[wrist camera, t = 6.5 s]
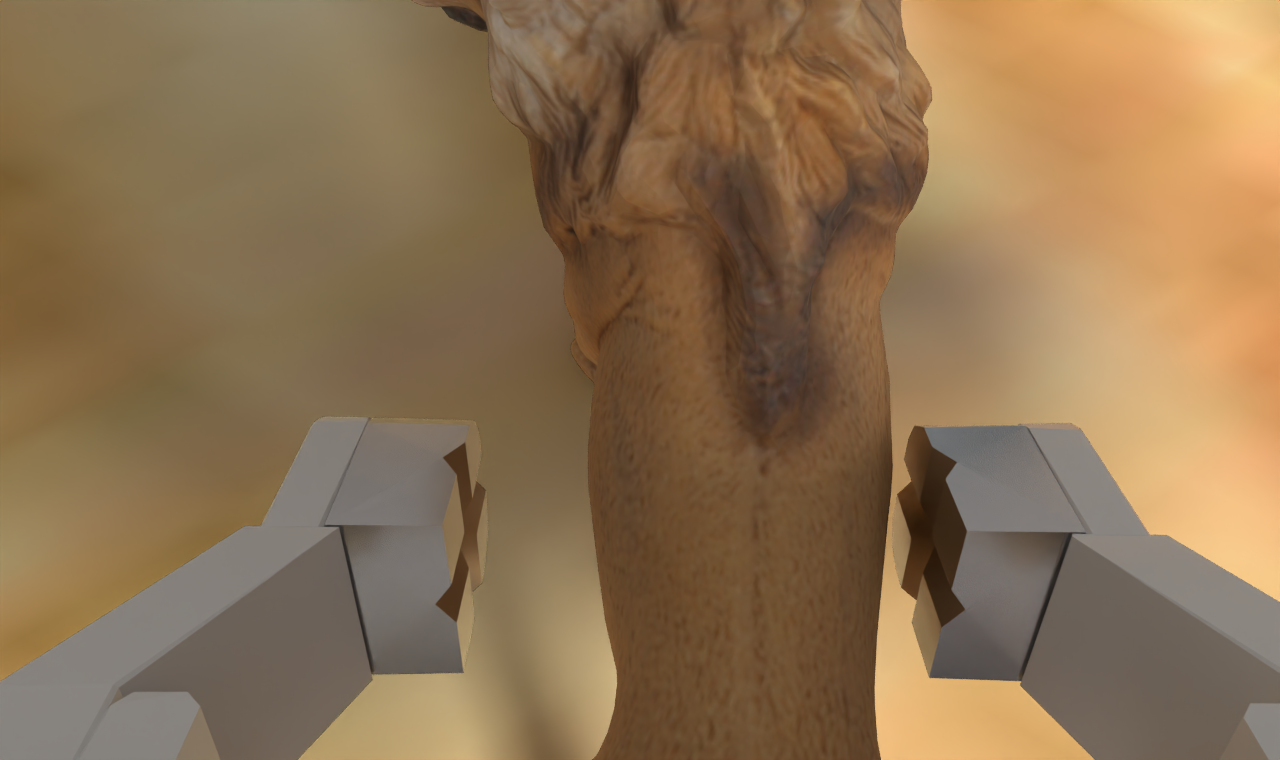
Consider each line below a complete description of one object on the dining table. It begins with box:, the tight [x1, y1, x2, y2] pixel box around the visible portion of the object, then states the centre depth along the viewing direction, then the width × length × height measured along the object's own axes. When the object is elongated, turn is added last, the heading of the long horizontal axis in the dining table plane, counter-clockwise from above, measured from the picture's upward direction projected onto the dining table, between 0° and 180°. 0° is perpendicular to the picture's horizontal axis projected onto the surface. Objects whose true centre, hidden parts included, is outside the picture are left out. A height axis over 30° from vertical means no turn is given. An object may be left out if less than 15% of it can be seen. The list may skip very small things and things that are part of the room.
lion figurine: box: [411, 0, 932, 760], centre depth 10 cm, size 15×5×9 cm, turn 8°
